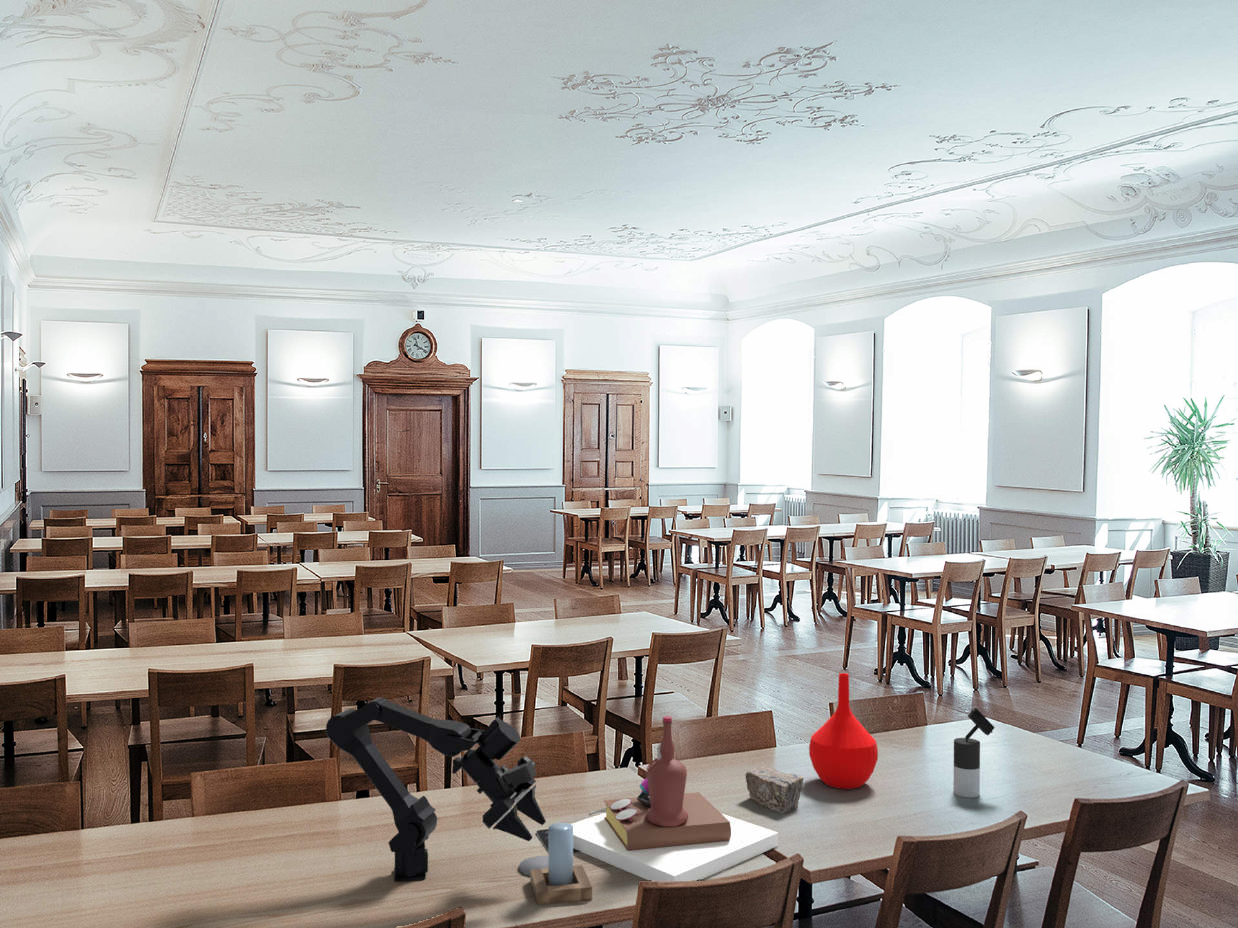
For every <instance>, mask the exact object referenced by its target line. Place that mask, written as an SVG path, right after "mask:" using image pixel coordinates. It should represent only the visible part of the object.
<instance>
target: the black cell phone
mask: <svg viewBox="0 0 1238 928" xmlns="http://www.w3.org/2000/svg"><path fill="white" fill-rule="evenodd" d="M535 835H536V836H537V838H538V839H539V841H540V842H541V844H542V845H543V847H544V848H545V850H546V851H547V852H548V849H549V828H546V829H538V830H536V831H535ZM579 853H582V852H581V851H579V850H576V849H574V848H573V854H579Z"/></svg>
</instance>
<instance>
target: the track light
mask: <svg viewBox="0 0 1238 928" xmlns="http://www.w3.org/2000/svg"><path fill="white" fill-rule="evenodd" d="M967 717H968V718H969V720H971V722H972V723H973V724H974V726H973V727H972V729H970V731H969V732H968V733H967V734H966V735H965V736H964V737H957V738H956V737H955V738H954V739H953V794H955V796H958V797H963V798H977V797H980V792H981V791H980V790H981V789H980V787H981V786H980V782H981V781H980V780H981V775H980V774H981V767H980V766H981V742H980V741H979V740H978V739H975V738H972V736H973V734H975V733H976V732H977V730H978V729H979V730H980V731H981V732H982V733H983V734H984V735H986V736H990V734H991V733H993V730H994V729H995V728H996V727H995V726H994V725H993V724H992V723H991V722H990V721H989V719H988V718H986V716H985V715H983V714H982V712H981V711H980V710H979V709H978V708H977V707H974V708H973V709H972V710H971V711H970V712H969V714H968V715H967Z"/></svg>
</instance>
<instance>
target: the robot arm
mask: <svg viewBox="0 0 1238 928" xmlns="http://www.w3.org/2000/svg"><path fill="white" fill-rule="evenodd" d="M372 721H373V722H374V721H377V722H379V723H382V724H384V725H387V726H389V727H392V728H395V729H397V730H400V731H402V732H405V733H406V734H409V735H412V736H415V737H417V738H419V739H422V740H424V741H425V742H427V744H429V746H430V747H431V748H432V749H433V750H435V751H437V752H439V753H441V754H442V755H444V756H446V757H450V758H454V759H453V760H452V770H451V773H452V774H453V775H455V774H456V773H458V772H459V771H460V770H461V769H462V771H464V772H465V773H466V774H467V776H468V777H469V778H470V779H471V780H472V781H473V783H475V785H476V786H477V787H478V789H477V790H476V792H477V793H478V794H479V795H481V794H482V793H483V794H484V796H485V795H486V797H487V798H488V799H489V801H491V804H490V806H489V807H490V808H489V809H488V810H486V811H485V813H484V814H483V815H482V823H483V824H484V826H485V827H486V828H487V829H488V830H489V829H491V828H492V829H493V830H499V831H501V832H505V833H507V834H509V835H512V836H515V837H517V838H519V839H522V840H525V841H526V842H530V841H531V840H532V839H533V836H532V834H531V833H530V831H529V829H528V828H527V827H526V825H525V823H523V821H522V820H521V818H520V816H519V815H518V812H520V813H521V814H523V815H525V816H526V817H528V818H530V819H531V820H532V821H534V822H536V823H537V824H540V825H541V826H544V824H545V823H546V821H547V820H546V818H545V816H544V814H543V813H542V810H541V808H540V806H539V803H538V802H537V799H536V796H535V795H536V788H537V785H536V784H535V783H536V782H537V780H536V779H535V778H534V777H536V776H537V775H538V773H537V771H536V769H535V767H536V762H533V759H530V758H529V757H528V756H527V755H525V756H522V757H520V758H519V759H518V760H517V765H515V766H513V767H512V768H510V769H509V768H508V767H507V766H506V765H501V766H499V765H498V764H497V763H496V762H495V760H498V761H500V760H502V759H503V758H504V757H505V756H506V755H508V754H509V753H510V751H511V750H512V749H514V747H515V746H516V745H517V744H518V743H519V742H520V741H521V736H520V734H519V731H518V730H517V729H516V728H515V726H514V725H511V724H510V723H508V722H507V721H504V720H502V719H501V718H500V717H495V719H493V720H492V721H491V723H490V724H489V726H487V727H486V729H485V730H481V729H478V728H477V729H476V728H471V727H470V726H469V725H468V723H464V722H462V721H456V720H452V719H436V718H433V717H430V716H428V715H425V714H422V713H420V712H417V711H414V710H412V709H409V708H407V707H405V706H402V705H399V704H397V703H395V702H391V701H389V700H388V699H386V698H385V697H377V698H374V699H372V700H371V701H369V702H367V704H366V705H363V706H362V707H359V708H358V709H356V708H355V709H354V708H346V709H345V710H343V711H341V712H340V713H337V714H335V715H333V716H331V717H330V718H329V719H328V720H327V723H326V729H325V733H326V736H327V738H328V739H329V740H330V741H331V742H332V743H333V744H334V745H335V746H336V747H337V748H338V749H340V750H341V751H343V752H345V753H347V754H348V755H351V756H352V757H353V759H354V760H355V761H356V762H357V764H358V765H359V767H360V768H361V770H362V771H363V772H364V773H365V775H366V776H367V778H368V779H369V780H370V782H371V783H372V784H373V786H374V787H375V789H376V790H377V791H378V793H379V794H380V795H381V797H382V798H383V799H384V801H385V802H386V804H387V805H388V806H389V807H390V809H391V812H392V816H393V820H394V825H395V828H396V830H397V831H398V832H397V834H395V835H394V836H393V837H392V838H391V839H390V840H389V841H388V845H389V848H390V852H391V853H394V867H393V881H394V882H401V881H402V882H403V881H414V880H425V879H426V878H427V877H426V876H427V873H428V872H429V851H428V849H427V848H426V841H427V840H429V837H430V835H431V834H432V833H433V832H434V831H435V830H436V828H437V824H438V816H437V814H436V813H435V812H436V811H437V809H436V808H435V807H433V806H432V805H431V804H430V802H429V800H428V799H427V797H426V796H425V795H422V796H420V797H419V798H418V797H415V796H414V795H412V793H410V791H409V790H408V789H407V787H406V786H405V785H404V783H403V782H402V781H401V779H400V778H399V776H398V775H397V774H396V773H395V771H394V770H393V768H392V767H391V765H390V764H389V763H388V762H387V760H386V759H385V757H383V754H381V753H380V751H379V750H378V748H377V746H376V745H375V744H374V742H373V741H372V737H371V732H370V727H369V723H371V722H372ZM476 745H478V746H477V748H476V749H473V748H474V747H475V746H476ZM464 751H465V753H464V754H462V756H461V757H455V756H458V755H460V754H461V753H462V752H464ZM534 784H535V785H534Z"/></svg>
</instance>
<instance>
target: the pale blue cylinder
mask: <svg viewBox="0 0 1238 928" xmlns="http://www.w3.org/2000/svg"><path fill="white" fill-rule="evenodd" d="M571 824H572V823H567V822H554V823H552V824H549V826H548V829H549V849H548V851H547V853H548V855H547V856H548V885H547V886H555V885H567V884H574V883H573V866H574V853H573V826H572V825H571Z"/></svg>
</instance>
